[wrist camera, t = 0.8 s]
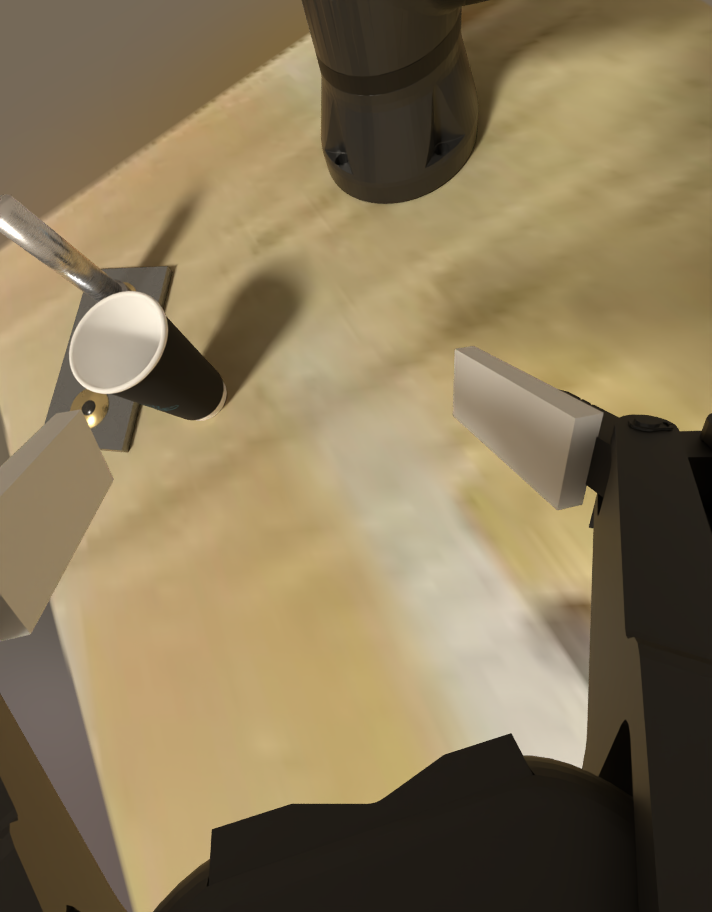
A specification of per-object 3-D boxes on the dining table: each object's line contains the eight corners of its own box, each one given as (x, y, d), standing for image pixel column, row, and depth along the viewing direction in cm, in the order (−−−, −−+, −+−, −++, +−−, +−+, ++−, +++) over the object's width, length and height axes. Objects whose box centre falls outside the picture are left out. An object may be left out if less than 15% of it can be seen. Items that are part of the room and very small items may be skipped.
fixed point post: (108, 285, 44) (-11, 191, 33) (136, 285, 43) (24, 188, 32) (99, 315, 43) (-25, 230, 32) (128, 315, 42) (10, 227, 31)
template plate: (95, 274, 46) (89, 268, 45) (172, 271, 44) (166, 265, 43) (46, 445, 42) (37, 443, 41) (127, 452, 40) (120, 450, 39)
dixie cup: (174, 448, 39) (73, 409, 28) (161, 376, 41) (62, 315, 30) (250, 418, 38) (174, 366, 27) (232, 346, 40) (155, 272, 29)
